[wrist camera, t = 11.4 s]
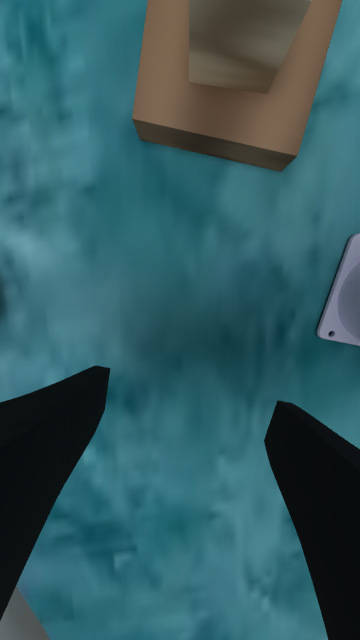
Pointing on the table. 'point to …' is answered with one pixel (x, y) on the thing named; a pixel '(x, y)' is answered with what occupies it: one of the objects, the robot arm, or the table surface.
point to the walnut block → (227, 92)
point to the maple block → (241, 41)
